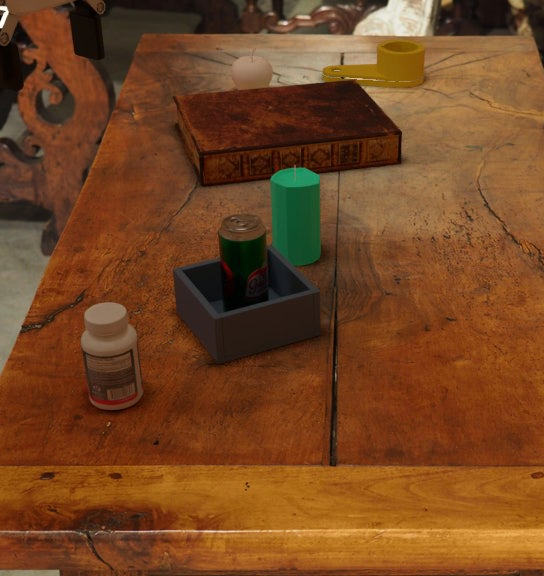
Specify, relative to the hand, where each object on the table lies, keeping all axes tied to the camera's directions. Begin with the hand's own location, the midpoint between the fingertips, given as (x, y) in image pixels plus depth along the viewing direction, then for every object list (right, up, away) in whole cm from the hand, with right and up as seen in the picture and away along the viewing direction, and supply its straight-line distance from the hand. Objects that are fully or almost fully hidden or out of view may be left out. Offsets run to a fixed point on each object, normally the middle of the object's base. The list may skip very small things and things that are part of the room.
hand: (50, 71), depth 94 cm
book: (+14, +3, +71) cm, 72 cm away
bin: (+14, -23, +26) cm, 37 cm away
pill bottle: (+2, -30, +13) cm, 33 cm away
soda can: (+14, -23, +25) cm, 37 cm away
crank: (+27, +18, +98) cm, 103 cm away
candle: (+18, -15, +40) cm, 46 cm away
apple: (+7, +14, +90) cm, 91 cm away
